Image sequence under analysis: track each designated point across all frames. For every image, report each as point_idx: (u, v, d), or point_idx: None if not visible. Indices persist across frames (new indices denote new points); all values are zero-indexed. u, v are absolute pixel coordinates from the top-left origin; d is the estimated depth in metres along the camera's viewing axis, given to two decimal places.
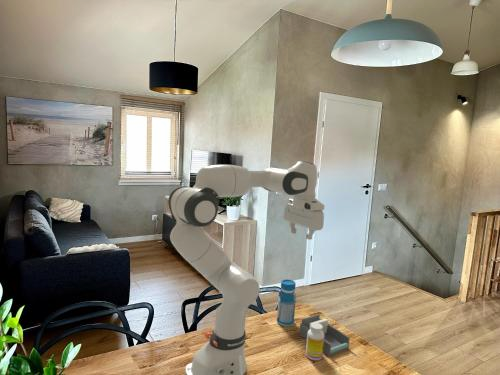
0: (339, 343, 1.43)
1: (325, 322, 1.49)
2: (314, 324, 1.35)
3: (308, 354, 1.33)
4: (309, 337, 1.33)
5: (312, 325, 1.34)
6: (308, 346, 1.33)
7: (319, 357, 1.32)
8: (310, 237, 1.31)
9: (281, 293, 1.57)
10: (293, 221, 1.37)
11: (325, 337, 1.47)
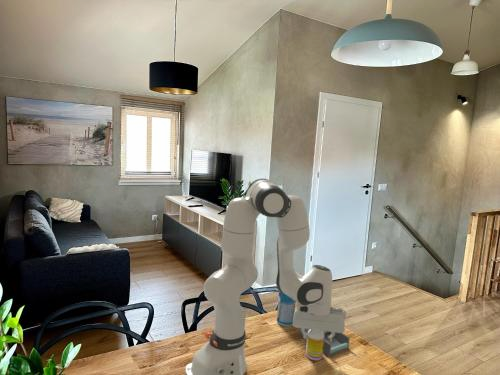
0: (339, 343, 1.43)
1: None
2: None
3: (308, 354, 1.33)
4: (309, 337, 1.33)
5: None
6: (308, 346, 1.33)
7: (319, 357, 1.32)
8: None
9: (281, 293, 1.57)
10: None
11: (325, 337, 1.47)
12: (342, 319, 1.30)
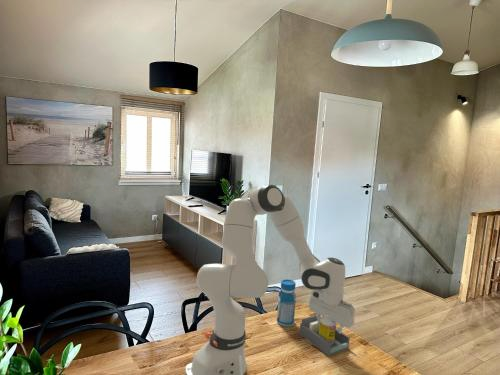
0: (339, 343, 1.43)
1: None
2: None
3: None
4: (320, 320, 1.44)
5: None
6: (319, 329, 1.45)
7: None
8: None
9: (281, 293, 1.57)
10: None
11: None
12: (348, 314, 1.34)
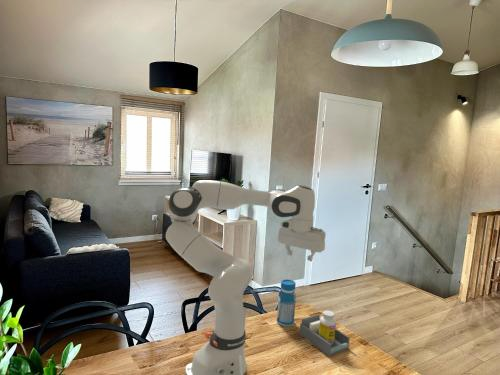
0: (339, 343, 1.43)
1: None
2: (328, 311, 1.44)
3: None
4: None
5: (325, 311, 1.44)
6: (319, 329, 1.45)
7: None
8: None
9: (281, 293, 1.57)
10: None
11: None
12: (319, 238, 1.33)
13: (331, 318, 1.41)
